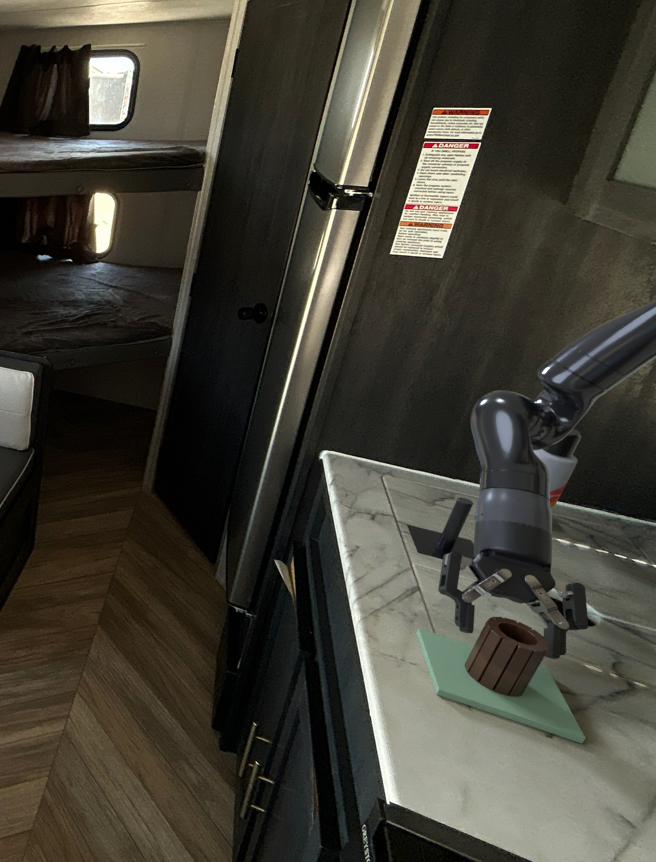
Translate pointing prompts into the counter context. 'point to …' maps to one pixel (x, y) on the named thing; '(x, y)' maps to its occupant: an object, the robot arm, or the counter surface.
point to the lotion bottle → (560, 463)
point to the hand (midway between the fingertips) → (508, 644)
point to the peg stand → (445, 534)
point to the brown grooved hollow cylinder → (506, 656)
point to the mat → (532, 708)
